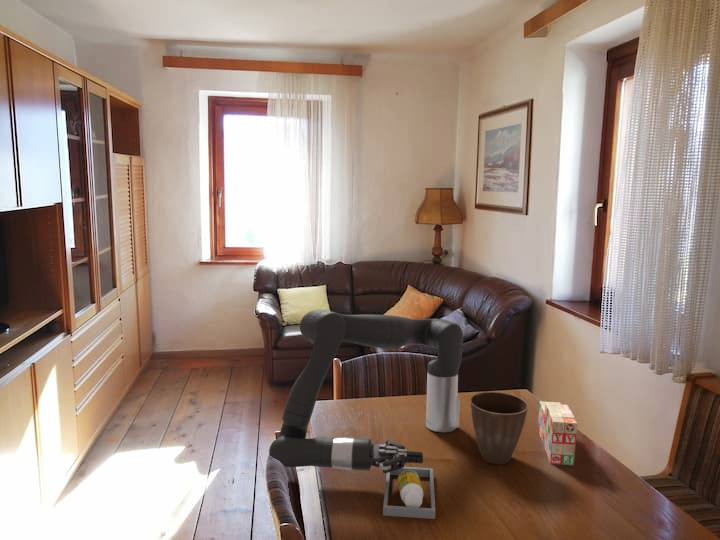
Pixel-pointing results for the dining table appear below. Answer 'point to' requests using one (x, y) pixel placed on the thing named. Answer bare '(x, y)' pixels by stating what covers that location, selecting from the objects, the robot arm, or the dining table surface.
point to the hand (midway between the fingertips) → (422, 457)
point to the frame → (410, 511)
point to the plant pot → (497, 424)
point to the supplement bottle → (410, 488)
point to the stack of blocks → (557, 432)
